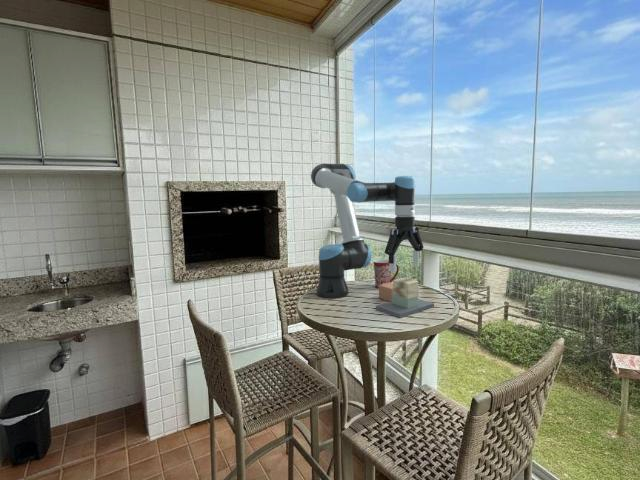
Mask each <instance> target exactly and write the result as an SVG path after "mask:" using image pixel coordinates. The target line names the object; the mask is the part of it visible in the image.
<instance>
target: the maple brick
mask: <svg viewBox="0 0 640 480" xmlns="http://www.w3.org/2000/svg"><path fill="white" fill-rule="evenodd" d="M392 284H393V295H397V296H400V297H404V298H407V299H410V298H413V297H416V296H418V297H419V280H414V279H410V278H405V277H400V278H397V279H396V278H395V279H394V280H393V281H392Z"/></svg>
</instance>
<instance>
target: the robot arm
mask: <svg viewBox="0 0 640 480" xmlns="http://www.w3.org/2000/svg"><path fill="white" fill-rule="evenodd" d="M355 172H356V171H355V169H354V168H353V167H352V166H351V165H349V164H347V163H346V164H345V163H321V164H320V163H319V164H317V165H315V166H314V167H313V169H312V171H311V173H310V180H311V182H312V184H313V185H315V186H316V187H318V188H321V189H329V191H330V193H331V194H332V195H334V200H335V205H336V210H337V211H336V212H337V216H338V221H339V225H340V231H341V235H342V242H341V243H334V244H327V245H324V246H322V247H320V249H319V251H318V260H319V262H318V263H319V267H318V268H319V280H318V283H317V284H318V285H317V287H316V296H317V297H321V298H324V299H338V298H344V297H346V296H348V295H349V288H348V284H347V282H346V278H345V272H346V271H350V270H356V269H357V270H358V269H362V268H365V267H368V266H369V265H370V263H371V261H372V256H373V255H372V254H373V252H372V248H371V247H370V245H369V244H367V243H365V239H364V238H363V237H361V234H360V230H359V223H358V219H357V215H356V211H355V205H354V203H359V204H360V203H371V202H372V203H373V202H392V201H393V202H394V215H395V218H394V226H395V227H396V229H395V228H394V229H393V228H391V229H390V231H389V236H388V237H389V238H388V240H387V243H386V247H385V249H384V254H385V255H388V260H389V263H390V271H391V272H392V273H396V272H397V266H396V264H397V255H396V252H397V251H398V248H399V247H400V245H401V244H402V242H403V241H405V240H407V241H408V242H409V244H410V245H411V247H412V249H413V250H412V267H415V268H420V257H421V252H422V251H423V249H424V243H423V241H422V238H421V235H420V233H419V231H420V230H419V229H420V228H419V227H418V226H415V224H416V222H415V219H416V218H415V216H414V215H415V212H416V211H415V210H416V209H415V201H416V200H415V197H416V196H415V195H416V193H415V192H416V184H415V183H416V181H415V177H414V176H412V175H401V176H400V175H399V176H396V177H394V182H362V181H360V180H357V178H356V177H357V176H356V173H355Z"/></svg>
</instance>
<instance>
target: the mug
mask: <svg viewBox="0 0 640 480" xmlns="http://www.w3.org/2000/svg"><path fill="white" fill-rule="evenodd" d="M372 263H373V268H374V269H373V273H374V280H375V281H374V283H375V285H374V286H375V288H377V289H379V285H382V284H386V283H390V284H392V283H393V280H395V279H396V277H397V276H398V274H399V271H400V267H399V265H398V264H397V263H396V272H395V273H394V275H393V277H392V278H391V276H392V275H391V272H392V271H390V263H389V259H388V258H387V259H384V258H383V259H381V258H380V259H373V262H372Z"/></svg>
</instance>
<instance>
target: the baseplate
mask: <svg viewBox="0 0 640 480" xmlns="http://www.w3.org/2000/svg"><path fill="white" fill-rule="evenodd" d="M434 307H435V302H434V303H433V302H432V301H426V300H424V299H420V298H419V295H418V296H416V297H413V298H410V299H407V298H404V297H400V296H397V295H393V294H392V301H391V302H390V301H387V302H384V303H382V304H378V305H375V310H377V311H380V312H382V313H385V314H388V315H391V316H393V317H396V318H399V319H401V318H405V317H407V316H412V315H413V314H417V313H420V312H423V311H426V310H428V309H433V308H434Z"/></svg>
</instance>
